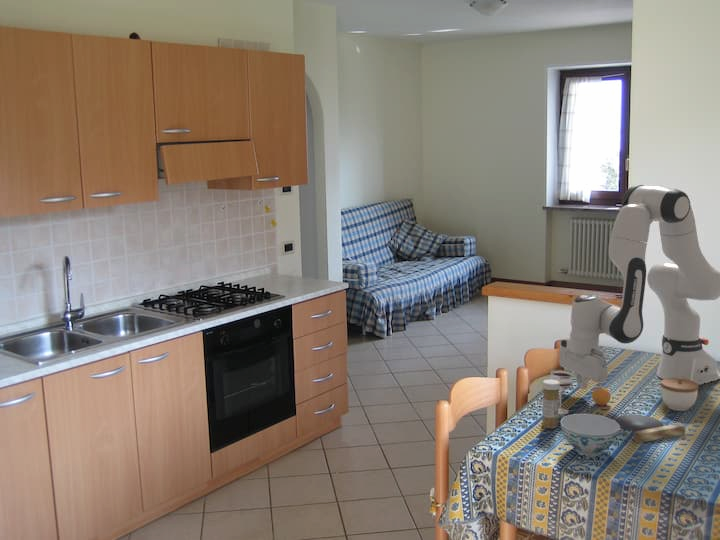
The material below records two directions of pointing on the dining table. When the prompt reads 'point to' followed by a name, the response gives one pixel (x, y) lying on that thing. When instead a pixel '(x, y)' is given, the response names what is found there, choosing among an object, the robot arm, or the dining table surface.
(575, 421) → the chinaware
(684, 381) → the lidded jar
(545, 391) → the sprinkles bottle
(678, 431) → the stopper strip
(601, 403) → the ball
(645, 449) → the dining table surface
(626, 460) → the dining table surface
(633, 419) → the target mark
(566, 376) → the wineglass
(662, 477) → the dining table surface
